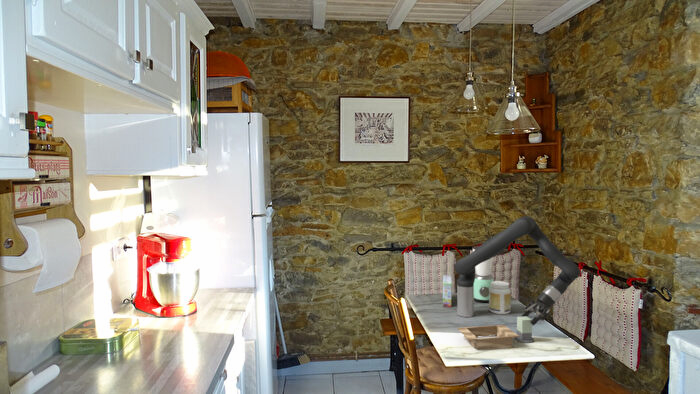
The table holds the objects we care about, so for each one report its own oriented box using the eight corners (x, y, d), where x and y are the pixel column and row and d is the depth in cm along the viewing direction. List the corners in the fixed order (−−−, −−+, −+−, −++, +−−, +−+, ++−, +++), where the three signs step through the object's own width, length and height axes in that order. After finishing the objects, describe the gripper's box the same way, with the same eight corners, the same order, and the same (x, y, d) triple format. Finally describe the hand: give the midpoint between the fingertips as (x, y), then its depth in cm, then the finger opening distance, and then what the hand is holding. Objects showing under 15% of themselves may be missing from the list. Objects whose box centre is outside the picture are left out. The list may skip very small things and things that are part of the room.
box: (516, 336, 217) (517, 316, 216) (526, 335, 217) (526, 316, 217) (522, 340, 212) (522, 320, 211) (531, 339, 212) (531, 319, 212)
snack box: (452, 307, 266) (452, 283, 265) (442, 307, 267) (442, 283, 266) (451, 297, 287) (451, 275, 286) (442, 297, 288) (442, 274, 287)
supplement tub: (507, 308, 262) (507, 280, 261) (513, 314, 250) (513, 285, 249) (486, 308, 264) (486, 280, 263) (491, 314, 252) (491, 285, 251)
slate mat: (511, 336, 218) (511, 335, 218) (527, 335, 219) (527, 334, 219) (520, 343, 209) (520, 342, 209) (537, 342, 211) (537, 341, 211)
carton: (457, 337, 218) (457, 327, 218) (503, 334, 221) (503, 324, 221) (469, 350, 203) (469, 339, 203) (519, 346, 206) (519, 336, 206)
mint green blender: (496, 304, 270) (496, 248, 268) (474, 304, 272) (474, 248, 270) (491, 295, 289) (491, 243, 286) (470, 295, 291) (470, 243, 288)
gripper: (536, 288, 221) (514, 311, 221) (552, 295, 207) (529, 320, 206) (546, 297, 222) (524, 321, 222) (562, 306, 208) (540, 331, 207)
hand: (527, 321), depth 214 cm, fingers open, 8 cm apart
